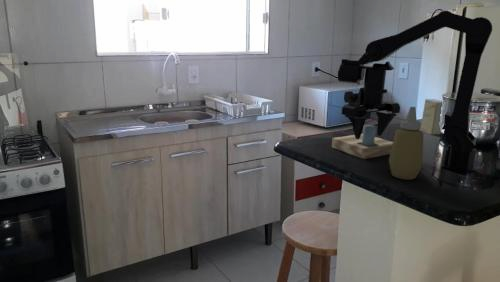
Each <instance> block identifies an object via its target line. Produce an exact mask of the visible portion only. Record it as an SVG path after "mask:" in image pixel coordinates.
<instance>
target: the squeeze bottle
mask: <svg viewBox="0 0 500 282" xmlns="http://www.w3.org/2000/svg"><path fill="white" fill-rule="evenodd" d="M416 109H417V108H416V107H415V106H410V107H409V110H408V113H407V115H406V118H405V119H402V120H401V121H400V128H398V129H396V130H395V133H394V137H393V141H392V142H393V145H392V149H391V153H390V154H389V157H388V163H389V168H390V173H391V175H392V177H395V178H397V179H401V180H408V181H409V180H414V179H416V178H417V176H418V174H419V173H420V170H421V168H422V167H423V161H424V160H423V157H424V132H422V131H420V128H421V121H417V110H416Z"/></svg>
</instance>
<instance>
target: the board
mask: <svg viewBox="0 0 500 282" xmlns="http://www.w3.org/2000/svg"><path fill="white" fill-rule="evenodd" d="M362 138H363V133H361V136H360V138H359V139H356V138H355V134H353V135H346V136H345V135H344V136H337V137H332V138H331V140H332V141H331V148H332V149H336V150H338V151H341V152H344V153H346V154H349V155H352V156H355V157H357V158H360V159H362V160H366V159H371V158H377V157H382V155H383V156H387V155H390V153H391V149H392V145H393V141H390V140H387V139H383V138H380V137H376V136H375V140H374V146H372V147H366V146H363V145H362Z"/></svg>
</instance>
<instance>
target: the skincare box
mask: <svg viewBox="0 0 500 282" xmlns="http://www.w3.org/2000/svg"><path fill="white" fill-rule="evenodd" d="M442 101H443V100H440V99H436V98H435V99H432V98H431V99H429V98H426V99H424V106H423V112H422V116H421V121H420V123H421V126H420V129H419V130H420V131H422V132H423V133H425V134H428V135H432V136H433V135H434V136H435V134H436V135H441V131H440V127H439V122H440V114H441V107H442Z"/></svg>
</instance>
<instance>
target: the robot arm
mask: <svg viewBox="0 0 500 282" xmlns="http://www.w3.org/2000/svg"><path fill="white" fill-rule="evenodd" d="M444 28H448V29H451V30H454V31H457V32H461V33H464V34H465V38H464V39H465V40H464V41H465V45H464V46H465V48H464V49H465V52H464V53H465V56H464V60H463V65H462V69H461V75H460V77H459V78H460V79H459V82H458V87H457V93H456V96H455V101H454V105H453V109H452V111H451V112H450V111H446V112H445V113H444V123H443V125H442V126H441V130H442V131H443V136H444V138H445V139H446V140H447V141H448V142H449V144H448V146H447V149H446V150H445V155H444V159H443V160H444V161H443V164H442V165H441V168H443V169H446V170H449V171H452V172H456V173H459V174H462V175H464V174H468V173H471V172H476V171H477V168H476V167H474V166H475V161H476V155H477V150H478V149H476V148H475V147H476V141H477V138H476V137H475V136H474V134H473V133H472V132H471V131H470V122H471V121H470V117H471V116H470V115H471V114H470V108H471V102H472V97H473V94H474V91H475V90H474V89H475V86H476V81H477V76H478V72H479V67H480V63H481V58H482V55H483V53H484V50H485V48H486V46H487V43H488V42H489V38H490V37H491V34H492V32H493V24H492V22H491V21H490V20H489V19H488V18H486V17H483V16H481V17H479V16H477V17H475V18H470V17H467V16H463V15H459V14H456V13H453V12H451V11H449V10H442V11H440V12H439V13H437V14H436V15H434V16H432V17H430V18H427V19H426V20H423V21H422V22H420V23H417V24H415V25H412V26H411V27H408V28H406V29H404V30H403V31H401V32H399V33H396V34H393V35H390V36H387V37H383V38H382V37H381V38H379V39H376V40H372V41H370V42H369V43H368V44H367V45H366V47H365V52H364V53H363V54H362V56H361V57H360V58H359V59H358V60H354V59H348V58H342V59H341V63H340V65H339V68H338V71H337V79H338V82H339V83H348V84H360V81H363V86H362V87H360V88H359V91H358V92H353V91H352V90H351V91H350V90H349V91H345V92H344V95H343V102H344V103H345V104H344V105H343V106H342V107H341V115H344V117H345V118H347V119H348V120H349V121H350V123H351V125H352V129H353V133H354V134H353V135H355V138H356V139H359V138H360V136H361V134H363V128H364V125H365V122H366V121H367V117H365V116H366V114H367V113H375V114H376V116H377V126H376V128H377V129H376V132H377V133H376V135H377V136H378V137H382V135H383V133H384V132H385V130H386V129H387V128H388V126H389V125H390V123H391V121H393V119H394V118H395V117H397V115H398V114H400V112H401V106H400V104H399V103H398V102H395V101H389V100H384V94H387V93H388V89H385V83H386V78H387V77H386V76H387V75H386V74H387V71H393V70H395V67H394V66H393V65H392V64H391V62H390V61H388V60H387V61H386V62H385V63H378V62H380V61H385V60H386V59H388V58H389V57H390V56H392V55H394V54H395V53H396V52H397V51H400V49H402V48H403V47H405V46H406V45H409V44H412V43H414V42H416V41H418V40H420V39H422V38H424V37H427V36H429V35H431V34H433V33H436V32H438V31H439V30H441V29H444ZM374 62H375V63H374ZM376 62H377V63H376ZM372 63H373V64H372ZM368 64H372V65H368Z"/></svg>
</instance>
